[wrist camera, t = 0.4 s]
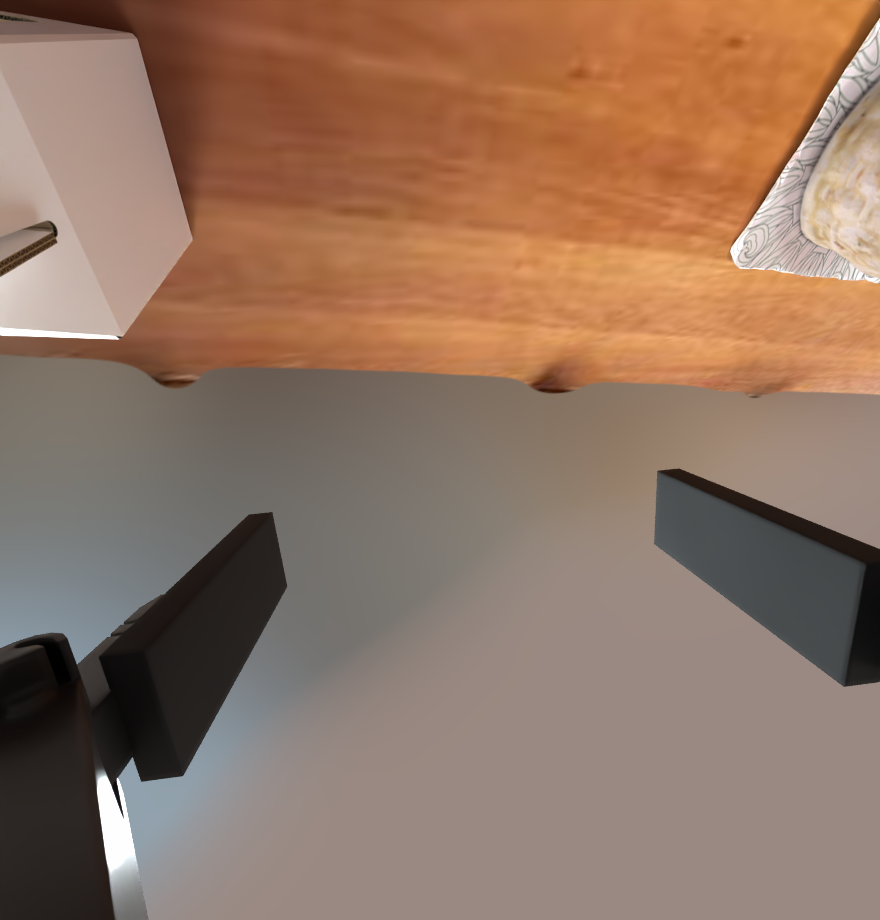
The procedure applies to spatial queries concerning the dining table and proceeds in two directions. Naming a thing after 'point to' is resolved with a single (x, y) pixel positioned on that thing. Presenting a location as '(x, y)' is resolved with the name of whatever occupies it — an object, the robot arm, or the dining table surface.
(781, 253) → the cookie jar
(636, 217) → the dining table surface
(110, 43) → the gable box
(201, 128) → the dining table surface
